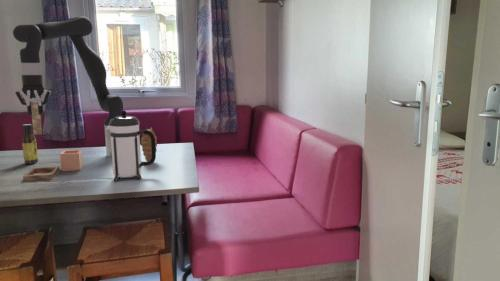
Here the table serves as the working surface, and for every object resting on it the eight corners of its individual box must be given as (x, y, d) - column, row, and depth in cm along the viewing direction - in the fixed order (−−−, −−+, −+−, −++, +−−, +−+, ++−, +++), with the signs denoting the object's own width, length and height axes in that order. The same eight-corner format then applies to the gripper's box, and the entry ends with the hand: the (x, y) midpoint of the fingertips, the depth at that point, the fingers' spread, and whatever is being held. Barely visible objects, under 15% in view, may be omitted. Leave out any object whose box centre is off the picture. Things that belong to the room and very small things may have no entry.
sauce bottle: (39, 163, 192) (34, 124, 188) (24, 165, 189) (20, 125, 185) (37, 160, 197) (33, 123, 194) (24, 162, 194) (19, 124, 190)
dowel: (43, 133, 166) (39, 101, 163) (40, 134, 163) (37, 102, 160) (35, 133, 165) (31, 101, 162) (32, 134, 162) (29, 102, 159)
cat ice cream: (151, 165, 189) (150, 129, 186) (138, 163, 192) (136, 128, 188) (161, 161, 197) (159, 127, 194) (148, 159, 200) (146, 126, 196)
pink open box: (83, 167, 184) (81, 149, 183) (80, 171, 177) (78, 153, 175) (65, 168, 182) (64, 150, 181) (61, 173, 175) (60, 154, 173)
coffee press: (127, 184, 157) (122, 113, 152) (102, 178, 166) (97, 111, 160) (157, 175, 172) (154, 109, 166) (133, 170, 180) (130, 107, 174)
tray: (60, 172, 176) (59, 166, 175) (52, 181, 162) (51, 174, 162) (33, 174, 173) (33, 167, 172) (23, 183, 160) (22, 176, 159)
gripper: (52, 73, 164) (56, 113, 167) (16, 73, 161) (20, 114, 164) (47, 74, 157) (51, 115, 160) (9, 74, 154) (14, 116, 157)
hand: (35, 114), depth 162 cm, fingers closed on dowel, 3 cm apart
